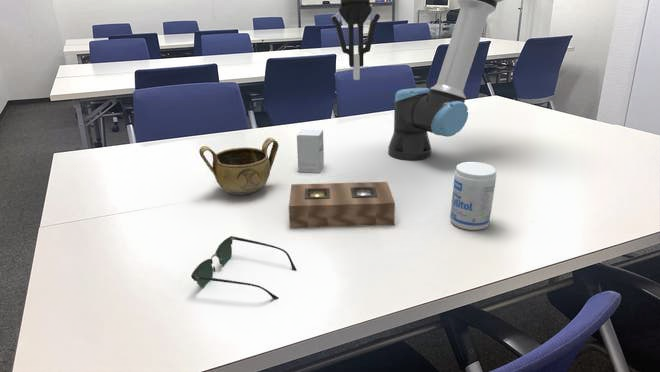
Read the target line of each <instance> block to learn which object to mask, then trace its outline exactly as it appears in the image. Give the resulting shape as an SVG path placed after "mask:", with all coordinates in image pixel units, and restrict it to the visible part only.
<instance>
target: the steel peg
mask: <svg viewBox="0 0 660 372" xmlns="http://www.w3.org/2000/svg"><path fill="white" fill-rule="evenodd" d="M357 195H372V193H371V191H369V190H359V191H357V192H356V196H357Z"/></svg>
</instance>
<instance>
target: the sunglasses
mask: <svg viewBox="0 0 660 372" xmlns="http://www.w3.org/2000/svg"><path fill="white" fill-rule="evenodd" d="M233 241H239V242H244V243H249V244H254V245H261V246H264V247H269V248H273V249H277V250H280V252H281V251H282V252H283V253H284V254H286V256H287V258H288V260H289V264H290V266H291V270H292V271H295V272H297V270H298V269H297V268H296V266H295V264H294V262H293V260H292V258H291V256H290V254H289V253H288V251H286V250H285V249H283V248H281V247H278V246H275V245H272V244H268V243H264V242H260V241H256V240H252V239H248V238H243V237H237V236H234V235H233V236H232V235H231V236H229V237H227V238H225V239H224V240H223V241H222V242H221V243H220V244H219V245H218V246H217V248H216V250H215V253H214V254H212V255H211V256H210V257H211V258H207V259H205V260H203V261H202V262H200V263H199V264H198V265H197V266H196V267H195V269H193V271H192V273H191V275H190V276H191V279H193V281H195V282H196V284H197V285H198V287H199V288H200V289H205V287H206V286H207V285H208V283H209V282H211V281H212V282H220V283H228V284H237V285H243V286H251V287H255V288H259V289H261V290H263V291H265V292H266V293H267V294H268V295H269V296H270V297H271V298H272V299H273V300H276V299H279V296H276V295H275V294H274V293H272V292H271V291H269V290H268V289H267V288H265V287H263V286H261V285H258V284H254V283H250V282H249V283H248V282H244V281H243V282H242V281H235V280H230V279H222V278H214V277H213V275H214V273H216V267H215V266H213V264H214V263H213V262H214V261H213V258H214V257H217V259H218V263H219V264H220V266H221V267H225V266H226V264H227V263H228V262H229V261H230V260H231V258H232V256H233V248H232V247H233V246H232V245H233Z"/></svg>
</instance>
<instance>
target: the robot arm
mask: <svg viewBox="0 0 660 372" xmlns="http://www.w3.org/2000/svg"><path fill="white" fill-rule="evenodd" d="M502 1H503V0H457V4H458V6H459V8H460V9H459V13H458V16H457V20H456V22H455V24H454V25H455V26H454V27H453V30H452V31H453V32H452V34H451V37H450V40H449V44H448V47H447V50H446V54H445V55H444V56H445V57H444V59H443V62H442V66H441V68H440V69H441V70H440V72H439V76H438V78H437V82H436V84H434V86H432V87H430V88H428V87H413V88H405V89H404V88H403V89H400V90H397V92H396V93H395V95H394V96H395V97H394V98H395V99H394V108H393V110H394V111H393V114H394V117H393V118H394V119H393V120H394V121H393V134H392V135H391V136H392V137H391V139H390V142H389V145H388V151H387V153H388V155H389V156H390V157H392V158H394V159H399V160H406V161H419V160H420V161H421V160H425V159H427V158H430V156H431V155H432V145H431V141H430V138H429V134H428V132H429V133H431V134H434V135H436V136H442V137H453V136H455V135H457V134H458V133H459V132H460V131H462V130H463V128H464V127H465V125H466V123H467V120H468V117H469V112H468V110H469V109H468V106H467V105H466V104H465V101H466V99H467V98H466V95H465V93H464V90H465V86H466V83H467V81H468V77H469V74H470V70H471V69H472V65H473V62H474V58H475V56H476V52H477V50H478V47H479V43H480V40H481V37H482V34H483V32H484V28H485V25H486V23H487V19H488V16H489V15H490V14H492V13H494V12H495V11H496V8H497V6H498V3H501V2H502ZM341 17H342V18H343V20H344V21H345V23H346V24H347V32H348V33H347V34H348V36H347V37H348V41H347V42H348V43H347V44H348V48H347V44H346V41H345V37H344V33H343V29H342V25H341V23H340V22H341V21H342V19H341ZM368 17H369V20H370V23H369V27H368V32H367V36H366V41H365V45H364V23H366V21H367V19H368ZM380 18H381V15H380V14H378V13H377V12H375V11H373V10H372V6H371V3H370V0H340V7H339V9H338V12H337V13H336V14H334V15H331V18H330V19H331V20H332V22H333V24H334V25H335V29H336V31H337V32H336V34H337V37H338V41H339V44H340V48H341V51H342V53H343V54H347V55H348V65H349V68H352V71H353V73H352V74H353V80H354V81H360V79H361V77H360V75H361V72H360V68H361V67H364V55H365V54H366V53H369V52H370V51H371V48H372V43H373V39H374V35H375V29H376V26H377V25H376V24H377V23H378V21H379V19H380ZM354 25H357V53H355V45H354V44H355V42H354V41H355V40H354V39H355V38H354V35H355V34H354V31H355V30H354V28H355V27H354Z"/></svg>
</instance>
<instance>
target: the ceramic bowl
mask: <svg viewBox="0 0 660 372" xmlns="http://www.w3.org/2000/svg"><path fill="white" fill-rule="evenodd" d="M271 144H272V146H271ZM269 146H271V149H270V153H269V156H268V148H269ZM278 150H279V143H278V141H277V140H276V139H275V138H273V137H267V138H266V139H265V140H264V142H263V144H262V147H261V149H260V148H256V147H244V146H243V147H232V148H228V149H223V150H221V151H219V152H217V153H216V152H214V150H213V149H212V148H211V147H209V146H206V145H203V146H201V147H200V148H199V151H198V153H199V156H200V158H202V160H203V162H204V163H205V165H206V166H207V167H208V169H209V170H210V171H211V172H212V174H213V177H214V178H215V181H216V182H217V184H218V186H220V188H221V189H223V190H224V191H225V192H228V193H230V194H233V195H237V196H238V195H239V196H244V195H245V196H246V195H249V194H250V195H251V194H253V193H256V192H258V191H259V190H260V189H261V188H262V187H264V186H265V184H266V183H267V182H268V179H269V178H270V176H271V170H272V167H273V164H274V161H275V158H276V155H277V153H278ZM206 151H208V152H210V154H211V156H212V164H211V162H210V161H208V159H207V158H206V156H205V154H204V153H205V152H206Z"/></svg>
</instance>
